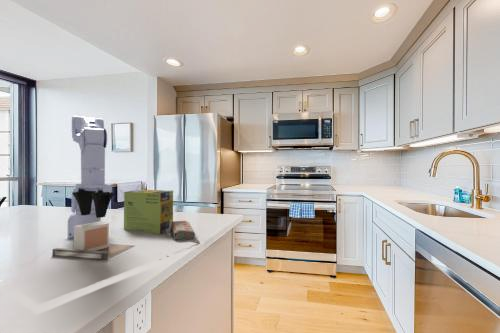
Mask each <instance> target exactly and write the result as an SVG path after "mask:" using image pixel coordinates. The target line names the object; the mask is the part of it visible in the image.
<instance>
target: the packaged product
mask: <svg viewBox="0 0 500 333" xmlns="http://www.w3.org/2000/svg"><path fill="white" fill-rule="evenodd" d="M165 234H166V237H167V238H172V240H173V241H175V242H176V241H185V242H190V243H193V244H199V243H200V240H199V238H198V236H197V233H195V231H194V229H193V228H192V226H191V224H190V222H189V221H187V220H175V221H174V220H173V222H172V224H171V229H167V230H166V231H165Z"/></svg>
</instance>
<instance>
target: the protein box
mask: <svg viewBox="0 0 500 333" xmlns="http://www.w3.org/2000/svg"><path fill="white" fill-rule="evenodd" d="M123 194H124V196H123V198H124V199H123V201H124V202H123V230H129V231H133V230H134V231H139V232H144V233H148V234H153V235H162V234H164V233H166V230H167V229H171V224H172V222H174V190H163V189H138V190H137V189H136V190H129V191H124V193H123Z"/></svg>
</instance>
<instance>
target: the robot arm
mask: <svg viewBox="0 0 500 333" xmlns="http://www.w3.org/2000/svg"><path fill="white" fill-rule="evenodd" d="M71 137H72V141H73V142H75V143H77V144H78V145H79V149H80V172H81V173H80V183H76V184H75V188H74V189H73V190H72V191H71V213H72V214H71V215H70V216H69V217H68V219H67V239H72V238H74V226H77V225H82V224H88V223H93V222H99V221H100V222H102V221H101V220H102V219H101V218H105V217H106V215H107V212H108V207H109V205H110V202H111V200H112V198H113V197H114V196H115V192H113V185H112V184H105V182H106V177H105V176H106V173H105V172H106V148H107V145H108V132H107V129H106V128H105V122H104V119H103V118H102V117H101V118H97V117H89V116H88V117H86V116H79V115H73V116H72V117H71Z"/></svg>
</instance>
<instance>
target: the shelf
mask: <svg viewBox="0 0 500 333" xmlns="http://www.w3.org/2000/svg"><path fill="white" fill-rule="evenodd" d="M132 248H135V245H130V244H129V245H128V244H118V243H117V244H116V243H109V247H106V248H103V249H99V250H95V251H89V250H77V249H74V247H72V248H61V247H55V248H53V249H52V253H51V254H52V256H51V257H61V258H69V259H71V258H72V259H83V260H93V261H107V260H109V259H112V258H113V257H115V256H117V255H119V254H121V253H123V252H125V251H128V250H130V249H132Z"/></svg>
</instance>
